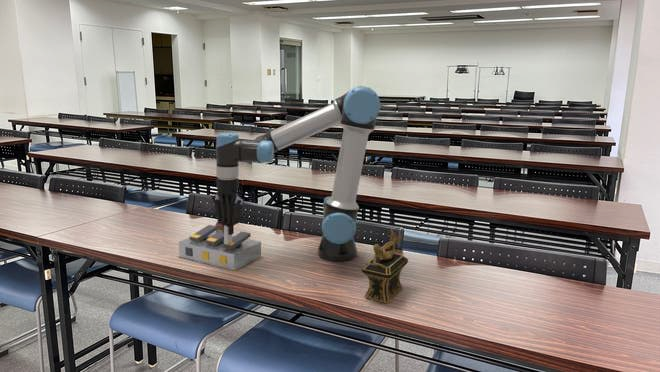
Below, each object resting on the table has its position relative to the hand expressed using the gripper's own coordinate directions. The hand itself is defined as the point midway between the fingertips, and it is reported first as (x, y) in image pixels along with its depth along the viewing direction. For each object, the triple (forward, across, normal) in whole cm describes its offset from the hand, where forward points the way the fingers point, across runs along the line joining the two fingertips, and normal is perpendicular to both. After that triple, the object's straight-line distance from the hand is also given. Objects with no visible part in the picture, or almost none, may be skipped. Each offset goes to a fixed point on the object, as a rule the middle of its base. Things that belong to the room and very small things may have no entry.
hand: (228, 242), depth 167 cm
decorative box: (+8, -58, -8) cm, 59 cm away
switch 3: (0, 0, -5) cm, 5 cm away
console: (+9, +8, -5) cm, 13 cm away
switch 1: (+1, +16, -5) cm, 17 cm away
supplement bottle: (+9, +16, -17) cm, 25 cm away
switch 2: (+1, +8, -5) cm, 9 cm away
